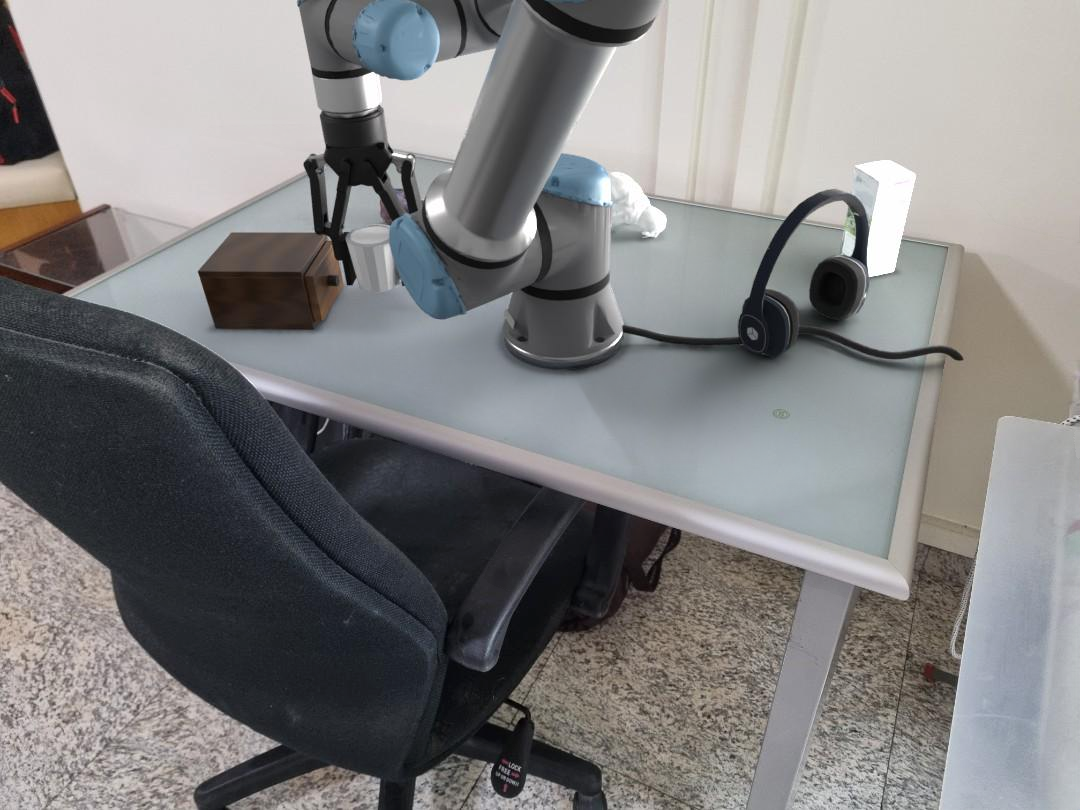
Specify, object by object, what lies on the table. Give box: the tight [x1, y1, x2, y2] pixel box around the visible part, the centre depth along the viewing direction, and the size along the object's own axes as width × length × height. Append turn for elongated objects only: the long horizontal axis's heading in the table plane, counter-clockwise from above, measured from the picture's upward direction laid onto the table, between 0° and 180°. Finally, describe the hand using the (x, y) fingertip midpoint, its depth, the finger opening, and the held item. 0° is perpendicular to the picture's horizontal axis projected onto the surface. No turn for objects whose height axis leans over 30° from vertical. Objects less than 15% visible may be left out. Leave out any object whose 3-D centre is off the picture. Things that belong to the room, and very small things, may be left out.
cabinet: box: [197, 231, 329, 331], centre depth 114 cm, size 14×12×9 cm
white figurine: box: [608, 171, 667, 239], centre depth 130 cm, size 6×8×12 cm
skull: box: [379, 187, 425, 226], centre depth 135 cm, size 12×8×6 cm, turn 54°
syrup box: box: [838, 159, 916, 278], centre depth 116 cm, size 6×6×14 cm
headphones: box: [737, 188, 870, 358], centre depth 101 cm, size 20×7×18 cm, turn 127°
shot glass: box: [345, 223, 402, 293], centre depth 111 cm, size 7×7×7 cm
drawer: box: [304, 240, 344, 323], centre depth 114 cm, size 14×10×7 cm
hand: (379, 280), depth 113 cm, fingers closed on shot glass, 7 cm apart
